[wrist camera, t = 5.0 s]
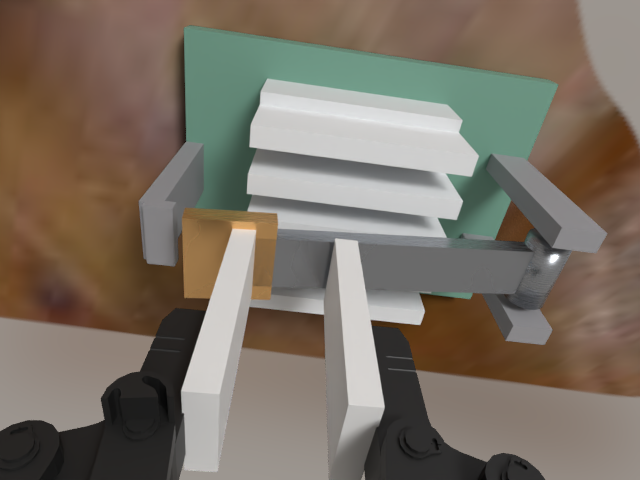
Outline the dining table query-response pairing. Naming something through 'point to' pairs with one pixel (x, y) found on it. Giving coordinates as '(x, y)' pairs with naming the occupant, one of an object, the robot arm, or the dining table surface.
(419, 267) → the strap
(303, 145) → the heatsink board
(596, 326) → the dining table surface
